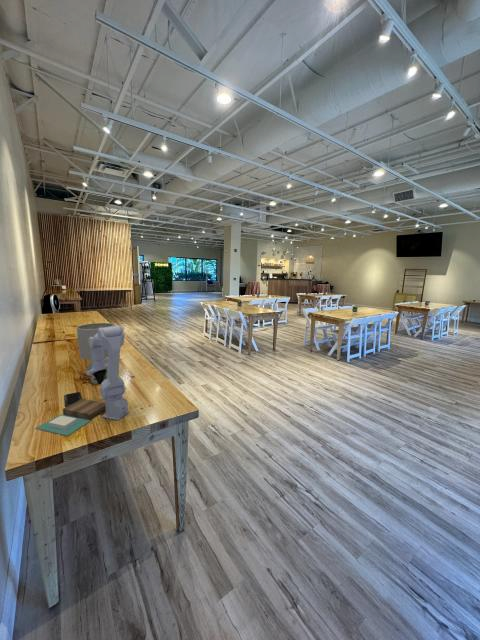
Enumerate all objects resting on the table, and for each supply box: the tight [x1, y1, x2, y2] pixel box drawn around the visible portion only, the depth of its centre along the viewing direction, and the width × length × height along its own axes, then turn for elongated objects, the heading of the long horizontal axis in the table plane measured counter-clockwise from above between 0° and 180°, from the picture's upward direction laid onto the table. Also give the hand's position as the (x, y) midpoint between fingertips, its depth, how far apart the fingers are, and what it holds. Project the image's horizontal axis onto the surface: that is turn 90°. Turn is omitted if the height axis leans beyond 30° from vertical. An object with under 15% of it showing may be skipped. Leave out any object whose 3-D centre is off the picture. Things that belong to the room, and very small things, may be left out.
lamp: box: [76, 322, 115, 385], centre depth 165 cm, size 20×20×35 cm
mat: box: [35, 414, 92, 437], centre depth 119 cm, size 18×12×1 cm, turn 74°
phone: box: [63, 391, 83, 408], centre depth 142 cm, size 8×1×15 cm
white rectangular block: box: [49, 415, 77, 430], centre depth 118 cm, size 9×6×2 cm, turn 73°
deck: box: [62, 398, 106, 421], centre depth 130 cm, size 16×11×3 cm
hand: (100, 383), depth 140 cm, fingers closed
